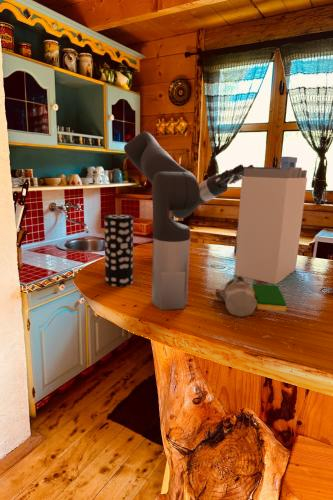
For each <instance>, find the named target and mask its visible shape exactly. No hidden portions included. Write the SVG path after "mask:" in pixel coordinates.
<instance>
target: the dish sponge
mask: <svg viewBox="0 0 333 500" xmlns="http://www.w3.org/2000/svg"><path fill="white" fill-rule="evenodd" d="M251 286H252V287H251V289H252V291H253V293H256V297H255V299H256V301H257V305H256V308H255V309H257V310H265V311H274V312H275V311H276V312H286V310H287V303H286V300H285V298H284V296H283V294H282V292H281V290H280V287H279V286H278V285H275V284H273V285H272V284H259V283H253V284H252V285H251Z"/></svg>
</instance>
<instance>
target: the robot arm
mask: <svg viewBox="0 0 333 500" xmlns="http://www.w3.org/2000/svg"><path fill="white" fill-rule="evenodd" d="M123 151H124V152H125V155H126V156H127V158H128V159H129V161H130V162H131V163H132V165H134V166H135V168H136V169H137V170H138V171H139V172H140V173H141V174H142V175H143V176H144V177H145V178H146V179H147V180H148V181H149V182H150V183H151V185H152V186H151V197H152V198H151V199H152V200H151V201H152V265H151V266H152V267H151V269H152V274H151V277H152V278H151V303H152V304H153V306H154V307H158V308H159V310H184V309H185V306H187V304H188V291H189V268H190V265H189V264H190V246H191V245H190V244H191V228H190V227H189V226H188V225H186V224H182V223H181V222H177V221H175V220H173V219H172V218H171V217H170V216H169V212H171V214H172V216H173V217H174V218H176V219H181V220H182V219H185V218H187V217H188V216H190V215H191V214H192V213H193V212H194V211H196V210H197V209H198V208H199V206H201V205H203V204H204V203H207V202H208V201H211V200H213V199H215V198H217V197H219V196H220V195H222V194H224V193H226V192H227V191H228V185H232V184H236V183H237V182H239V181H242V177H244V176H241V175H236V174H238V173H240V172H242V171H243V170H244V167H245V166H244V165H243V164H239V165H237V166H235V167H233V168H231V169H226V170H225V171H223V172H222V173H215V174H214V175H212V176H210V177H209V178H207V179H206V180H204V181H202V182H201V183H200V184H199V182H198V180H197V177H196V176H195V175H194V174H193V172H191V171H189V170H187V169H185V168H184V167H182V166H181V165H180V164H179V163H178V162H177V161H176V160H174V159H173V157H172V156H171V155H170V154H169V153H168V152H167V151H166V150H165V149H163V147H162V146H161V145H160V144H159V142H158V141H157V140H156V138H155V137H154V136H153V135H152V133H150V132H148V131H145V130H144V131H141V132H140V133H138V134H136V135H135V136H134V137H133V138H132V139H130V140H129V141H128V142H127V143H125V144H124V145H123ZM247 167H255V166H254V165H253V164H250V165H248V166H247Z"/></svg>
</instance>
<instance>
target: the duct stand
mask: <svg viewBox="0 0 333 500" xmlns="http://www.w3.org/2000/svg"><path fill="white" fill-rule="evenodd" d="M279 162H280V167H279V168H280V170H277V169H244V177H242V179H241V187H240V195H239V197H240V199H239V211H238V212H239V213H238V214H239V215H238V223H237V228H238V234H237V233H236V234H237V247H236V254H235V260H234V262H235V263H234V273H233V274H234V275H235V276H238V277H242V278H246V279H252V280H255V281H260V282H264V283H268V284H273V285H277V284H278V283H280V282H281V281H282V280H284V279H285V278H286V277H288V276H289V275H290V273H291V274H292V273H294V272H295V271H296V269H297V261H298V255H299V253H298V252H299V246H300V240H301V239H300V238H301V229H302V223H303V214H304V206H305V200H306V199H305V198H306V189H307V188H306V187H307V182H308V177H307V174H308V171H307V170H308V169H307V170H306V169H305V170H304V169H302V171H301V170H289V168H290V167H296V166H297V162H298V157H294V156H293V157H292V156H280V161H279ZM294 270H295V271H294Z"/></svg>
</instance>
